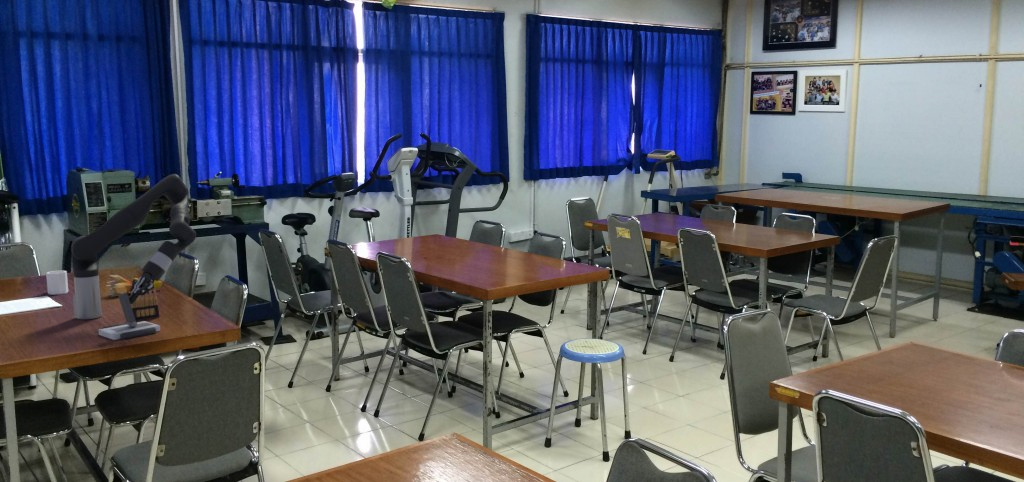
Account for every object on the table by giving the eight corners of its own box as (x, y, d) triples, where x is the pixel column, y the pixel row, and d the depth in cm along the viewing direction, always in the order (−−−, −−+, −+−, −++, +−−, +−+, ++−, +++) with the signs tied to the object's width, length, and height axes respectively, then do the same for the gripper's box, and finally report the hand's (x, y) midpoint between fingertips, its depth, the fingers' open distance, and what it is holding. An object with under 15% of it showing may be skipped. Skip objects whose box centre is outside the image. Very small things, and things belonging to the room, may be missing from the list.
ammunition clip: (132, 320, 358) (130, 291, 357) (130, 319, 360) (128, 290, 358) (159, 316, 365) (157, 288, 363) (158, 316, 366) (156, 287, 365)
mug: (69, 293, 415) (68, 272, 413) (49, 295, 410) (47, 274, 408) (65, 289, 424) (64, 268, 423) (45, 291, 420) (43, 270, 418)
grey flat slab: (144, 326, 349) (144, 320, 349) (160, 330, 341) (159, 325, 341) (98, 334, 336) (98, 329, 335) (113, 339, 328) (113, 334, 328)
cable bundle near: (153, 332, 339) (152, 326, 339) (156, 333, 337) (155, 327, 337) (119, 339, 329) (118, 333, 329) (122, 340, 328) (121, 334, 327)
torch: (161, 298, 420) (105, 298, 404) (156, 288, 425) (101, 288, 409) (165, 284, 417) (109, 284, 400) (160, 274, 422) (105, 273, 405)
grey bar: (134, 326, 349) (134, 320, 348) (137, 327, 347) (136, 321, 347) (100, 332, 339) (100, 327, 339) (103, 333, 337) (103, 327, 337)
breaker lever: (132, 324, 341) (120, 284, 336) (137, 325, 339) (125, 286, 333) (127, 326, 340) (114, 286, 335) (132, 328, 337) (119, 288, 332)
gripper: (173, 273, 342) (144, 310, 335) (155, 269, 351) (128, 305, 344) (158, 262, 337) (130, 299, 330) (141, 258, 346) (113, 294, 339)
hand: (129, 302), depth 337 cm, fingers closed
